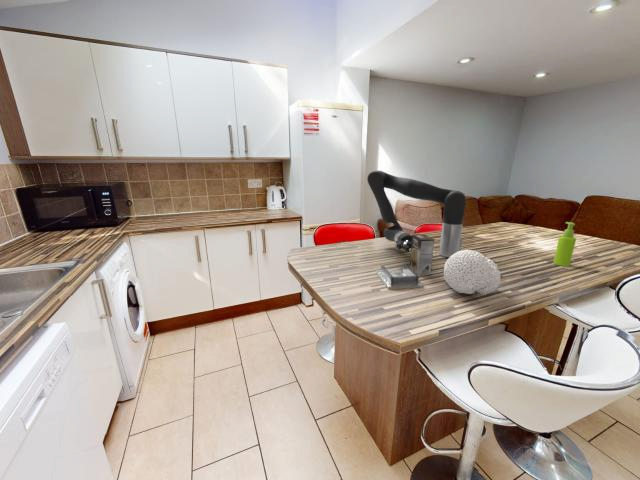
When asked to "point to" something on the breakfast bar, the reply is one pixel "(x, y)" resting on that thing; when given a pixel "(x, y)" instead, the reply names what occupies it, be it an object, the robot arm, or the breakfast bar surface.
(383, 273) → the clip bracket
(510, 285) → the breakfast bar surface
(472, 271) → the white coral
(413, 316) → the breakfast bar surface
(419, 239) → the coffee box
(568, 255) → the soap dispenser
